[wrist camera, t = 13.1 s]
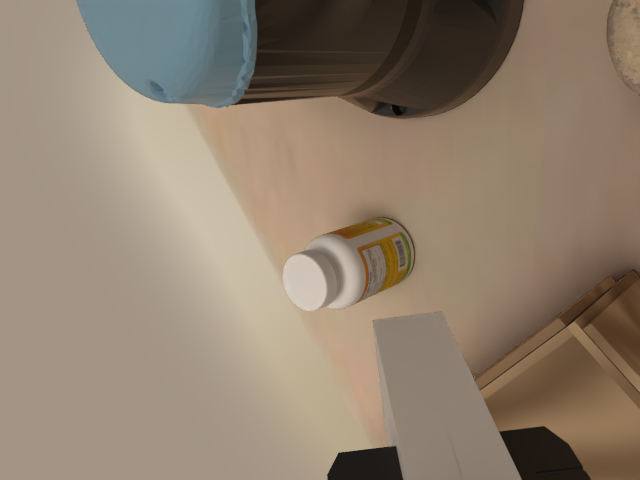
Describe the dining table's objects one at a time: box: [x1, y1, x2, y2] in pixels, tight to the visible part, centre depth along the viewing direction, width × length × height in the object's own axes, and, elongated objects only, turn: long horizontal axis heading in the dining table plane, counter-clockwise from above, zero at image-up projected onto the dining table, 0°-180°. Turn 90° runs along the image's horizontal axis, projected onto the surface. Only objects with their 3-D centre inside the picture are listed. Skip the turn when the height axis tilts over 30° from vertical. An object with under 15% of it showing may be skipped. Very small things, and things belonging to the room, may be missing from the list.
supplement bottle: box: [283, 218, 414, 311], centre depth 44 cm, size 5×5×10 cm
